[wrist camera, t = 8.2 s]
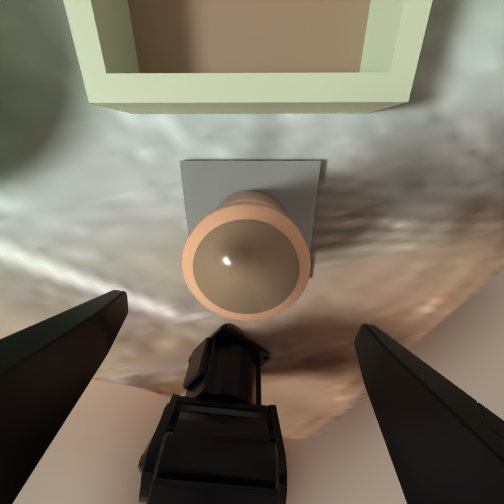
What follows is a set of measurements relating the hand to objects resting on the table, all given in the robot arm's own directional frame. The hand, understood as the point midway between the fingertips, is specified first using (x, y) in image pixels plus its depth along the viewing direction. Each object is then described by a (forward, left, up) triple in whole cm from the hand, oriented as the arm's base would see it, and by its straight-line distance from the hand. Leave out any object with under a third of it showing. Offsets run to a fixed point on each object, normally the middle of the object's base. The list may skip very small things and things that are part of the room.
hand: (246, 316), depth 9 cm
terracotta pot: (0, 0, -11) cm, 11 cm away
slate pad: (0, 0, -11) cm, 11 cm away
